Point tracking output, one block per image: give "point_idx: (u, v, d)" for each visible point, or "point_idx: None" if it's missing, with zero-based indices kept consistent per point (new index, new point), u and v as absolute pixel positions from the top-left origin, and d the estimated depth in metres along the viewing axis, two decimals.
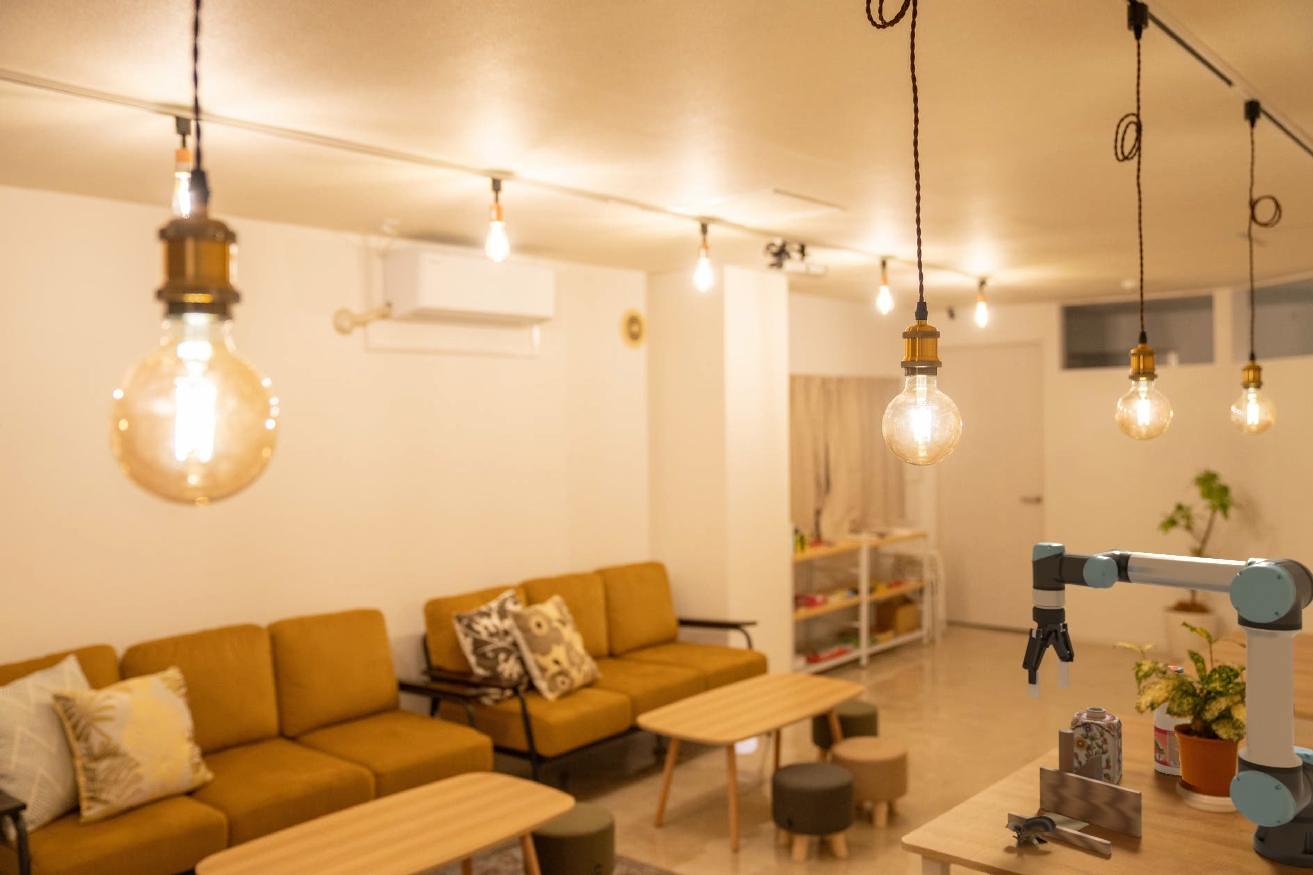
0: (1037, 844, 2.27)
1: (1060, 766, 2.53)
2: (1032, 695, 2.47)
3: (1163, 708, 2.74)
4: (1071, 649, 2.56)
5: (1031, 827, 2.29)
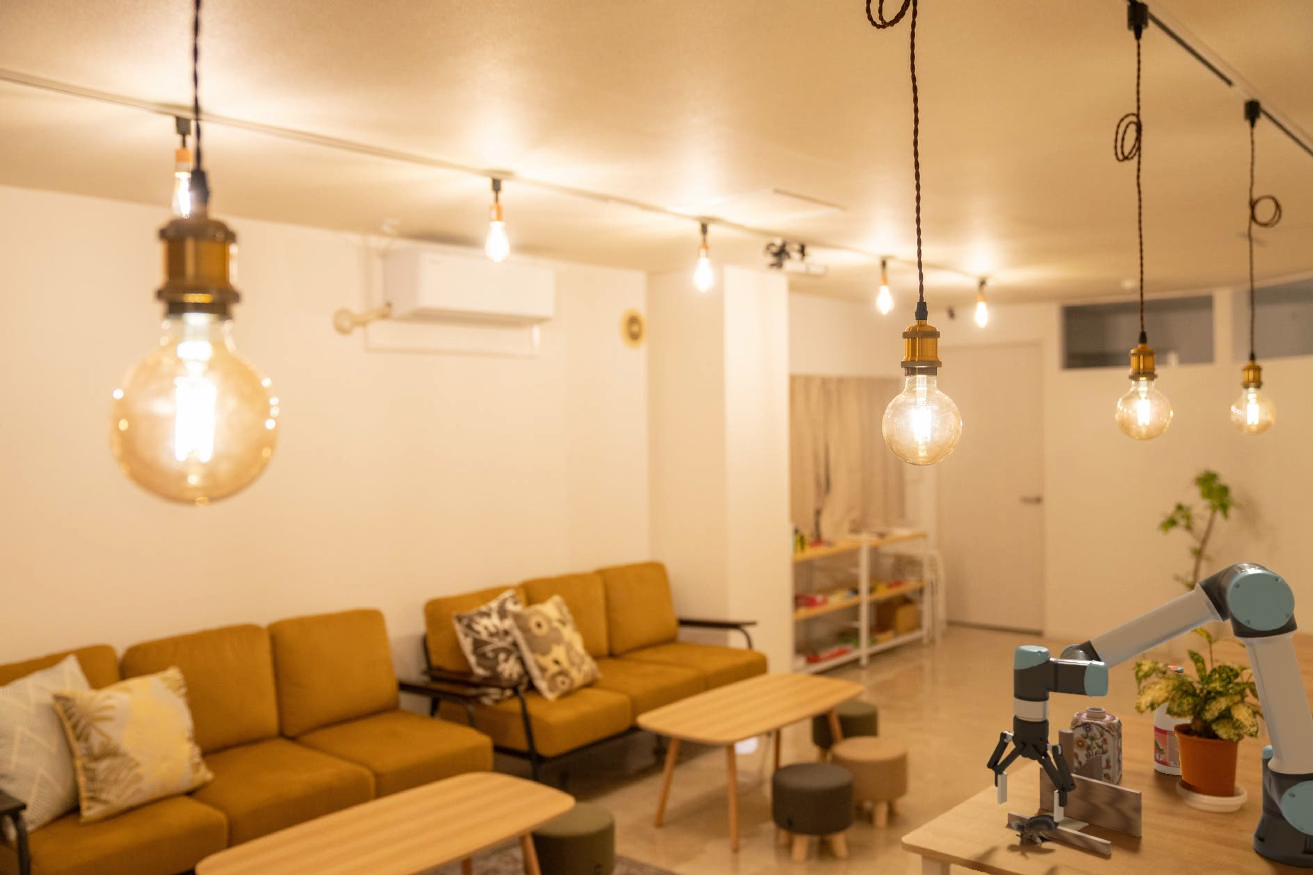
0: (1040, 842, 2.28)
1: None
2: None
3: (1163, 708, 2.74)
4: (1064, 780, 2.21)
5: (1034, 826, 2.30)
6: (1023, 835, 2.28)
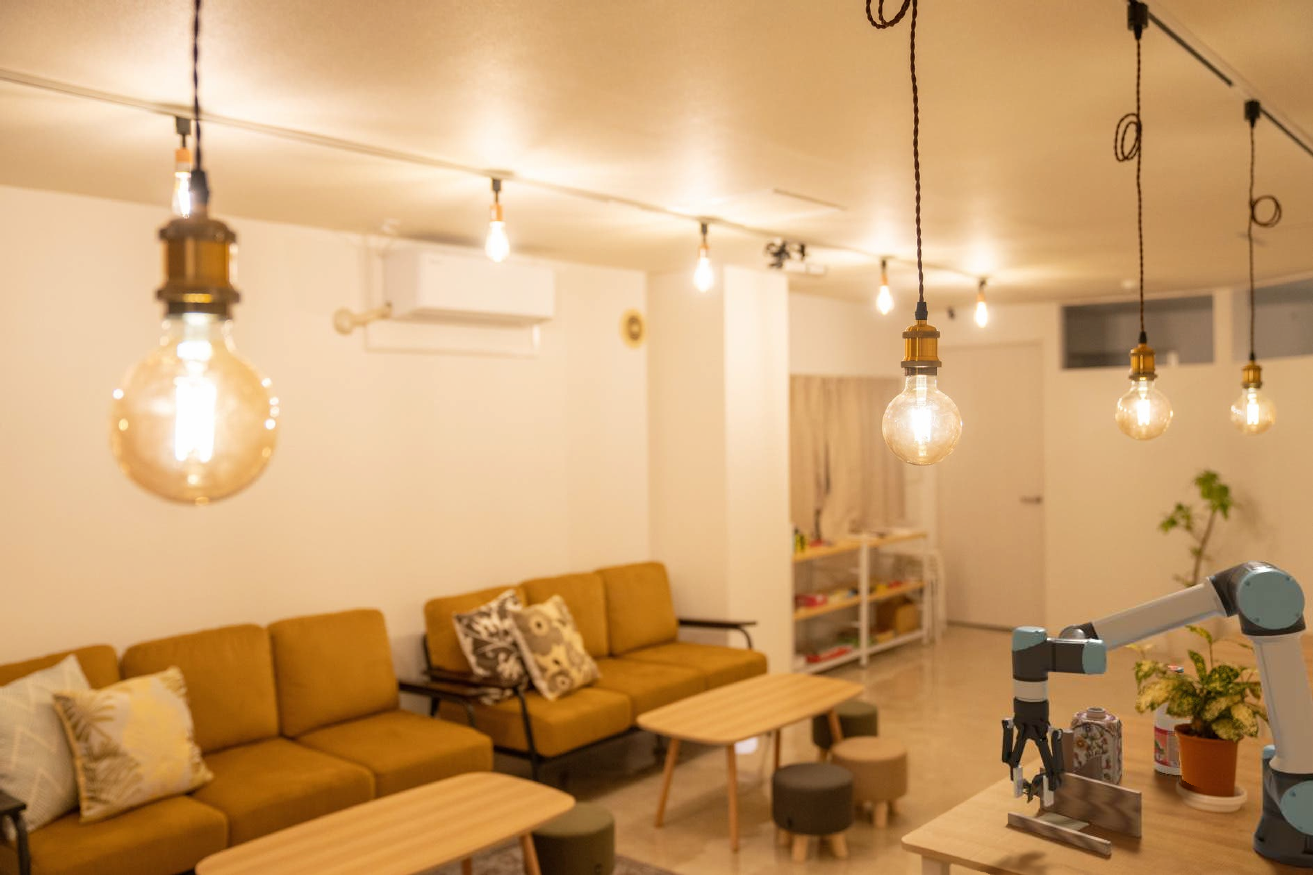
0: None
1: None
2: None
3: (1163, 708, 2.74)
4: (1055, 764, 2.23)
5: (1039, 784, 2.30)
6: (1030, 792, 2.27)
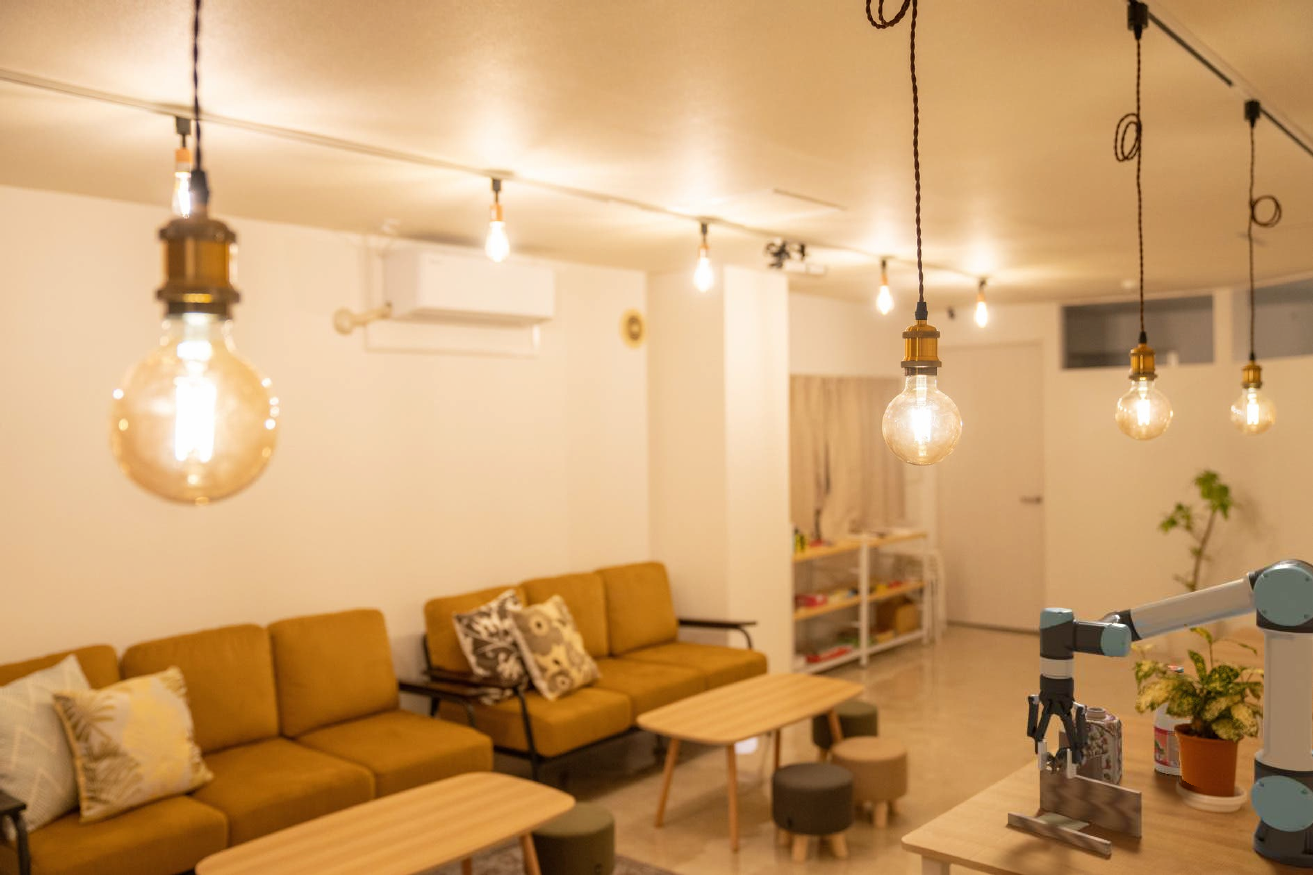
0: None
1: None
2: None
3: (1163, 708, 2.74)
4: (1079, 738, 2.34)
5: (1062, 757, 2.41)
6: (1054, 764, 2.38)
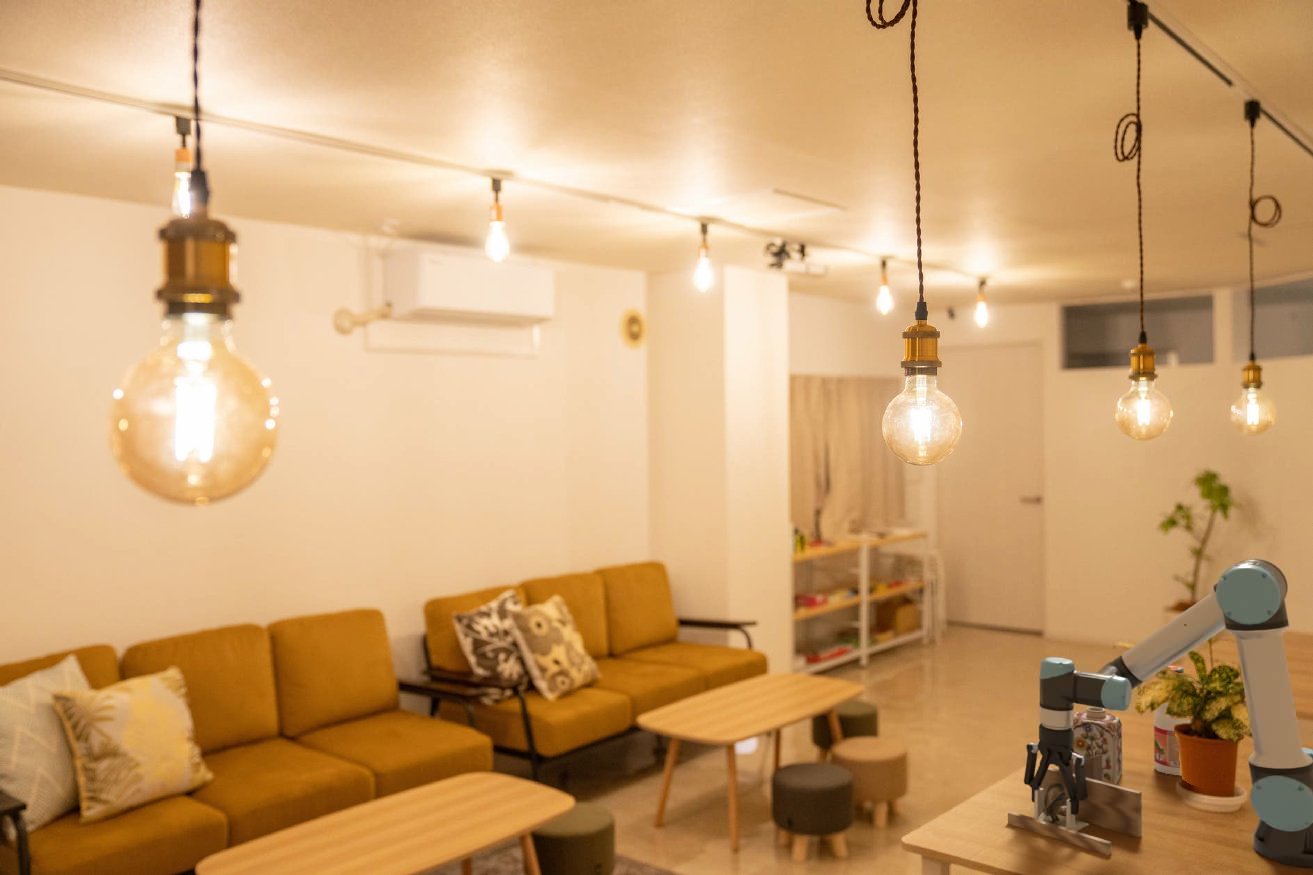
0: None
1: None
2: None
3: (1163, 708, 2.74)
4: (1079, 790, 2.35)
5: (1052, 807, 2.38)
6: None
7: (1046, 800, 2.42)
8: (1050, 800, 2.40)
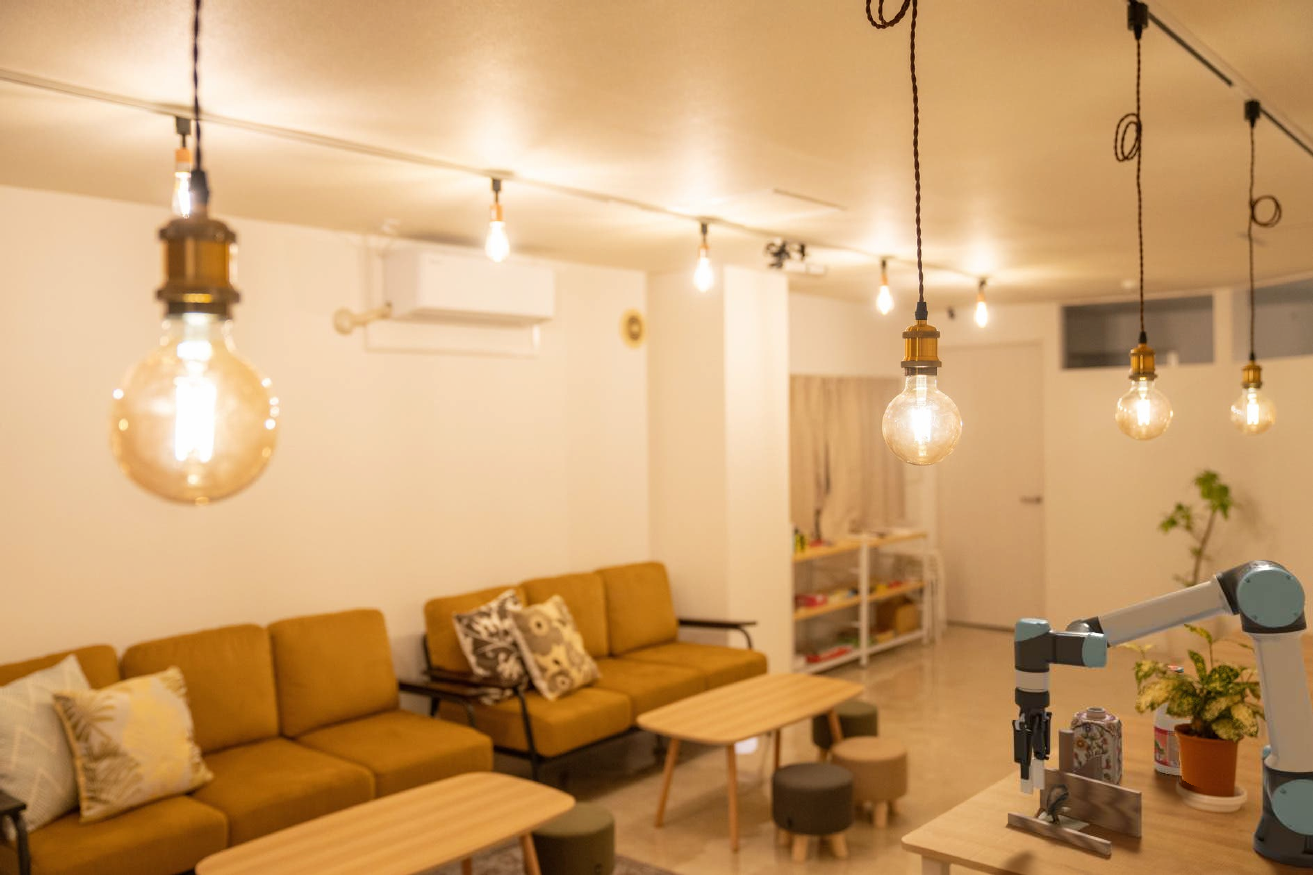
0: (1068, 809, 2.39)
1: (1060, 766, 2.53)
2: (1024, 791, 2.31)
3: (1163, 708, 2.74)
4: (1048, 744, 2.35)
5: (1054, 807, 2.39)
6: None
7: (1048, 800, 2.42)
8: (1052, 800, 2.40)
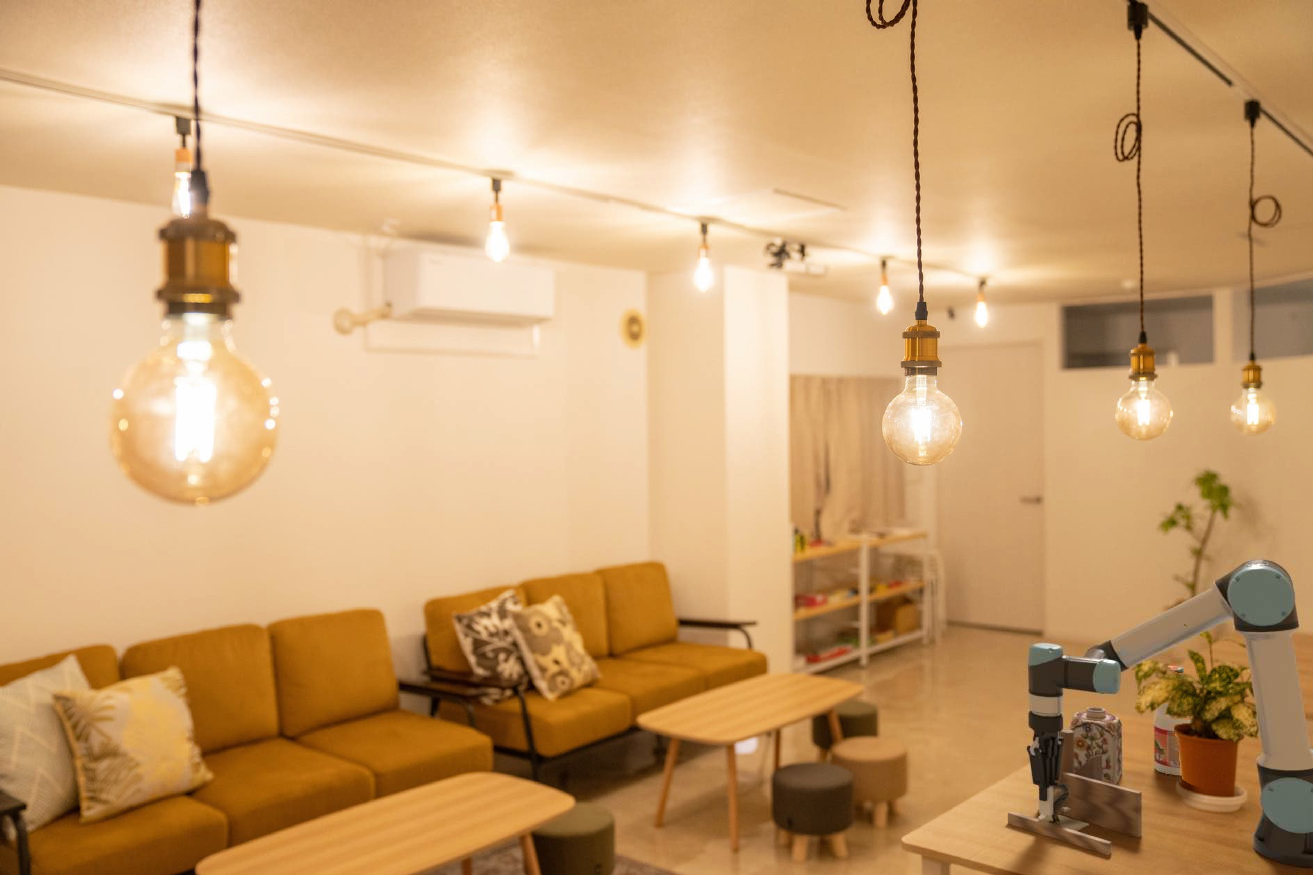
0: (1068, 809, 2.39)
1: (1060, 766, 2.53)
2: (1043, 812, 2.36)
3: (1163, 708, 2.74)
4: (1058, 770, 2.38)
5: (1054, 806, 2.39)
6: None
7: None
8: (1053, 800, 2.40)
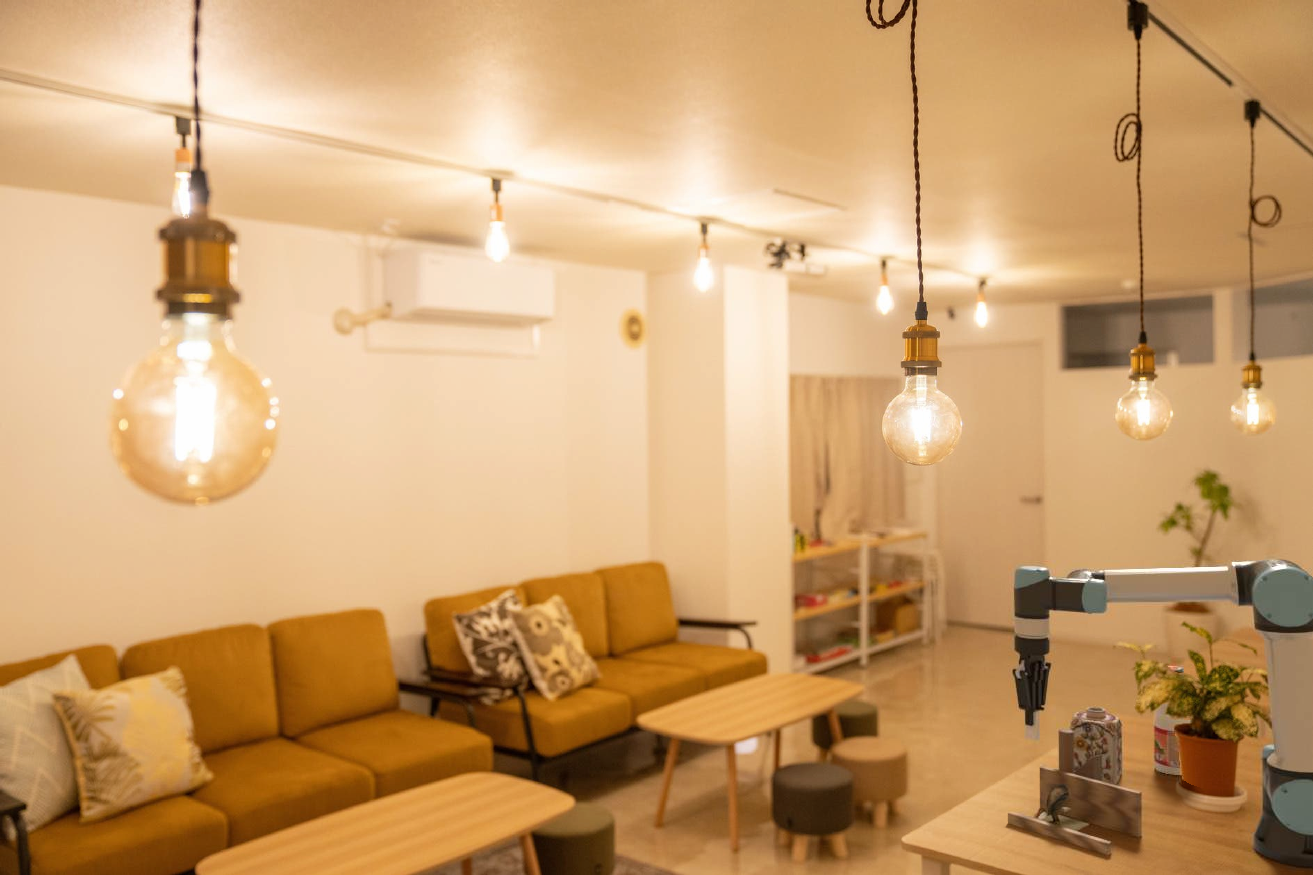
0: (1068, 809, 2.39)
1: (1060, 766, 2.53)
2: (1029, 737, 2.33)
3: (1163, 708, 2.74)
4: (1044, 694, 2.34)
5: (1054, 807, 2.39)
6: None
7: (1048, 800, 2.42)
8: (1052, 800, 2.40)
